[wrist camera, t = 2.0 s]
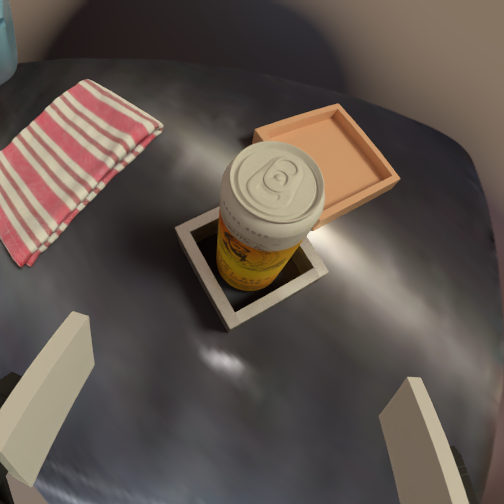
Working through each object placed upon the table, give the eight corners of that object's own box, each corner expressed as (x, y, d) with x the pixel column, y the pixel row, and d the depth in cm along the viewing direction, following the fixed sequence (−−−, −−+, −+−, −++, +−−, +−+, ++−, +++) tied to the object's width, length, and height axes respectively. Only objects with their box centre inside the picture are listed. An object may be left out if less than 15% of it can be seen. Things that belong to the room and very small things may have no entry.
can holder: (178, 241, 31) (174, 227, 28) (265, 200, 34) (270, 183, 30) (228, 332, 29) (230, 329, 25) (316, 281, 31) (328, 271, 28)
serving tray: (252, 142, 36) (254, 129, 34) (332, 115, 39) (338, 103, 37) (313, 231, 33) (320, 220, 31) (390, 189, 37) (400, 178, 34)
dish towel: (-26, 196, 30) (-39, 183, 27) (92, 84, 38) (86, 67, 35) (30, 276, 28) (14, 267, 25) (170, 132, 36) (167, 113, 33)
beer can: (203, 269, 30) (198, 187, 16) (239, 221, 32) (261, 120, 18) (256, 305, 30) (297, 252, 16) (290, 255, 32) (347, 172, 18)
